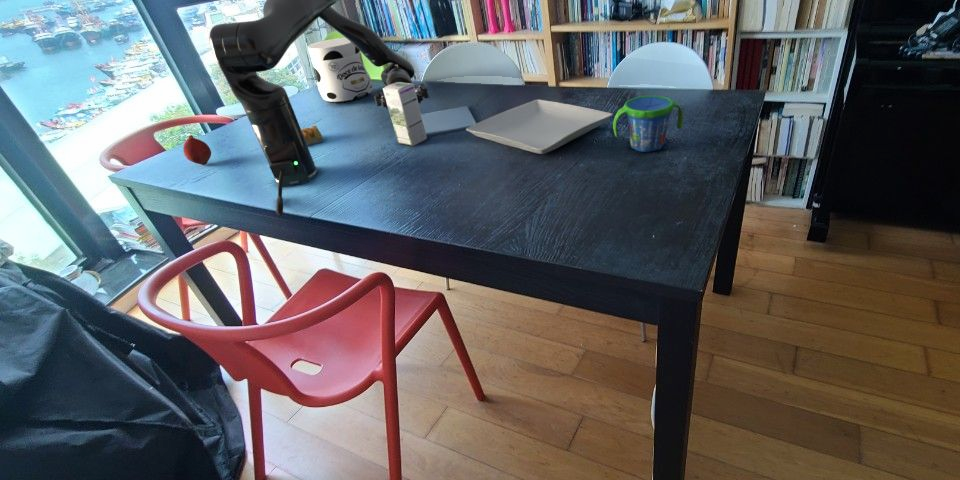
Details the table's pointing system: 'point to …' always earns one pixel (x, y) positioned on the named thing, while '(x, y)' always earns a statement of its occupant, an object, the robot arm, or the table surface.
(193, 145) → the onion
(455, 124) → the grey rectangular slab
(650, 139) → the snack cup
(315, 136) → the pastry
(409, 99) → the syrup box
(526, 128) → the square plate
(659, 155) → the table surface
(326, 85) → the doce de leite tin
